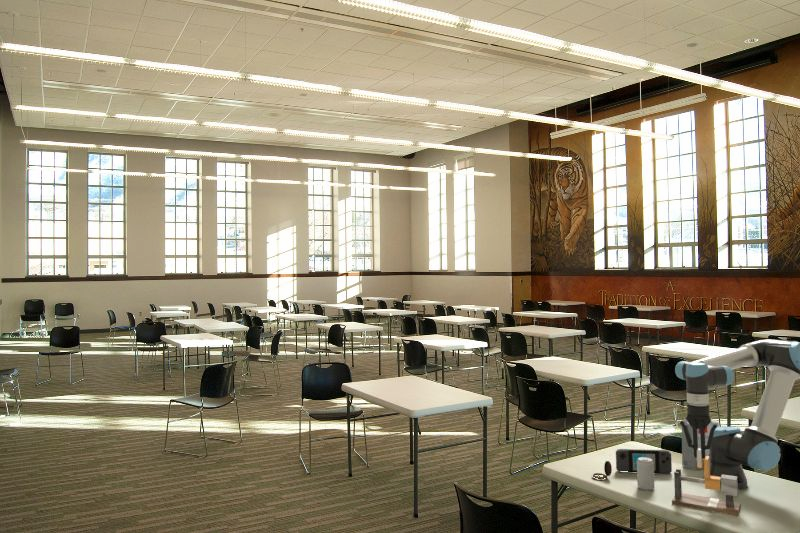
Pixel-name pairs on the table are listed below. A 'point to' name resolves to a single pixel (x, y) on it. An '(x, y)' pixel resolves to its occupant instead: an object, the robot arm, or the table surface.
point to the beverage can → (645, 473)
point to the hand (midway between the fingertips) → (700, 466)
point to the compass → (607, 471)
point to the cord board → (705, 503)
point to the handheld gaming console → (629, 457)
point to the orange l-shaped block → (711, 477)
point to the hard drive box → (688, 452)
